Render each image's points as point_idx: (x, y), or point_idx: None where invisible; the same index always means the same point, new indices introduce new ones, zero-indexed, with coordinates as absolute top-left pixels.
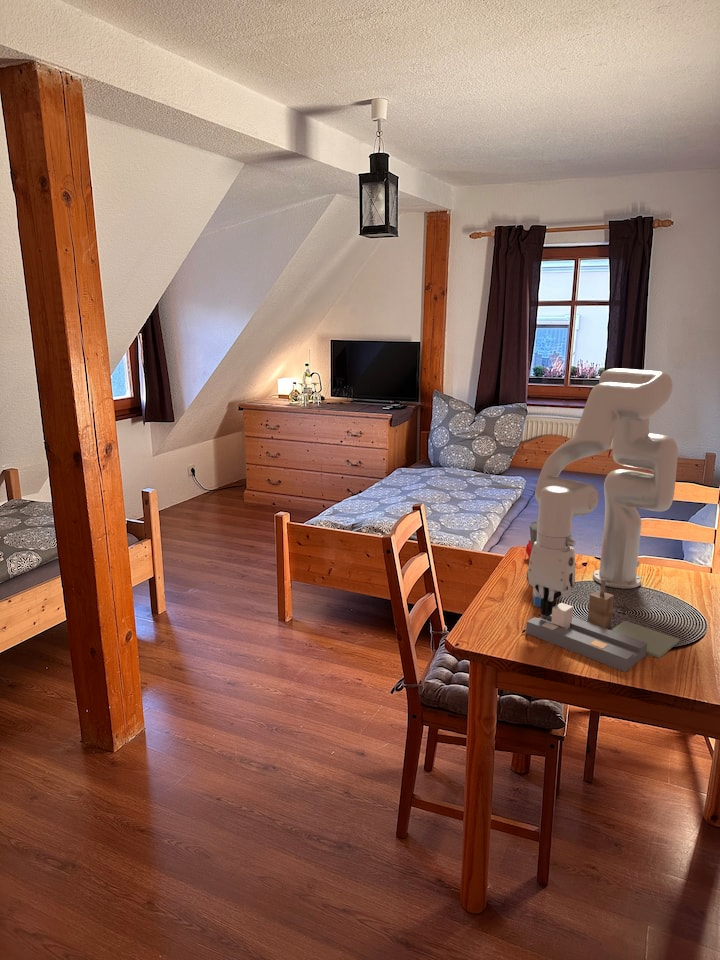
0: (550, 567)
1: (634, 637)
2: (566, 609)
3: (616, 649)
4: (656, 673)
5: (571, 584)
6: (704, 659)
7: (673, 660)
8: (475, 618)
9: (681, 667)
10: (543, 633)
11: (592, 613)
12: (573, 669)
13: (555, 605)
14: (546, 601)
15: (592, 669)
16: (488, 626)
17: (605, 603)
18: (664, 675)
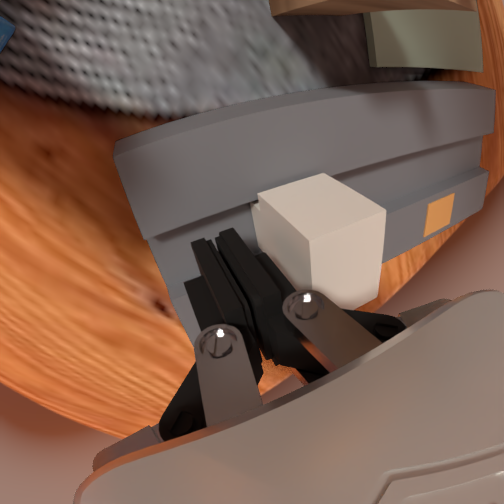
0: None
1: (428, 9)
2: (376, 274)
3: (467, 192)
4: (485, 141)
5: (488, 297)
6: (501, 14)
7: (488, 58)
8: (32, 387)
9: (498, 78)
10: None
11: (337, 4)
12: (387, 288)
13: (280, 273)
14: (275, 359)
15: (414, 250)
16: (91, 382)
17: (457, 9)
18: (491, 136)
